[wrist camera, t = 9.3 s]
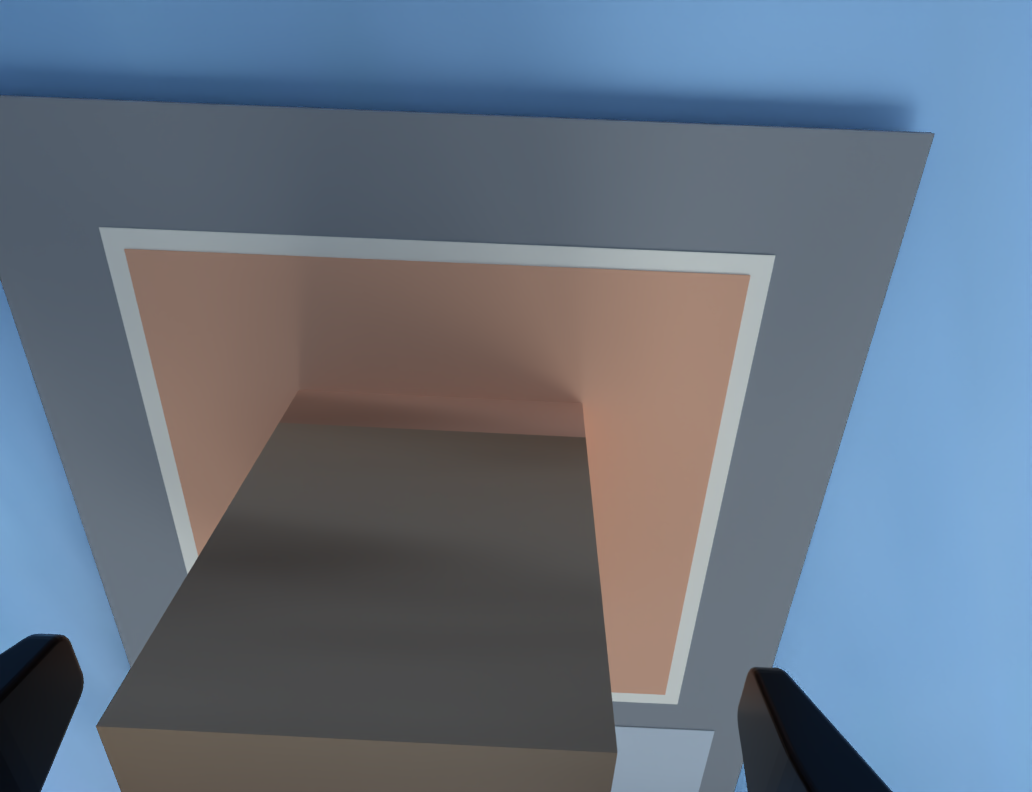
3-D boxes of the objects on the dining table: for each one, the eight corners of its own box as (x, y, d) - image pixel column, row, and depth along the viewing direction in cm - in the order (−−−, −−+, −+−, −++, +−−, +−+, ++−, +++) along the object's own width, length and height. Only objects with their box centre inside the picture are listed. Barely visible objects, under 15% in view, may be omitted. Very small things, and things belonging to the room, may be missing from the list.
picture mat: (930, 132, 9) (936, 134, 9) (727, 808, 17) (728, 814, 17) (-57, 93, 10) (-65, 93, 9) (172, 780, 17) (169, 786, 17)
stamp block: (562, 608, 14) (576, 993, 8) (325, 597, 14) (191, 973, 8) (582, 402, 11) (617, 753, 6) (298, 389, 11) (95, 726, 6)
